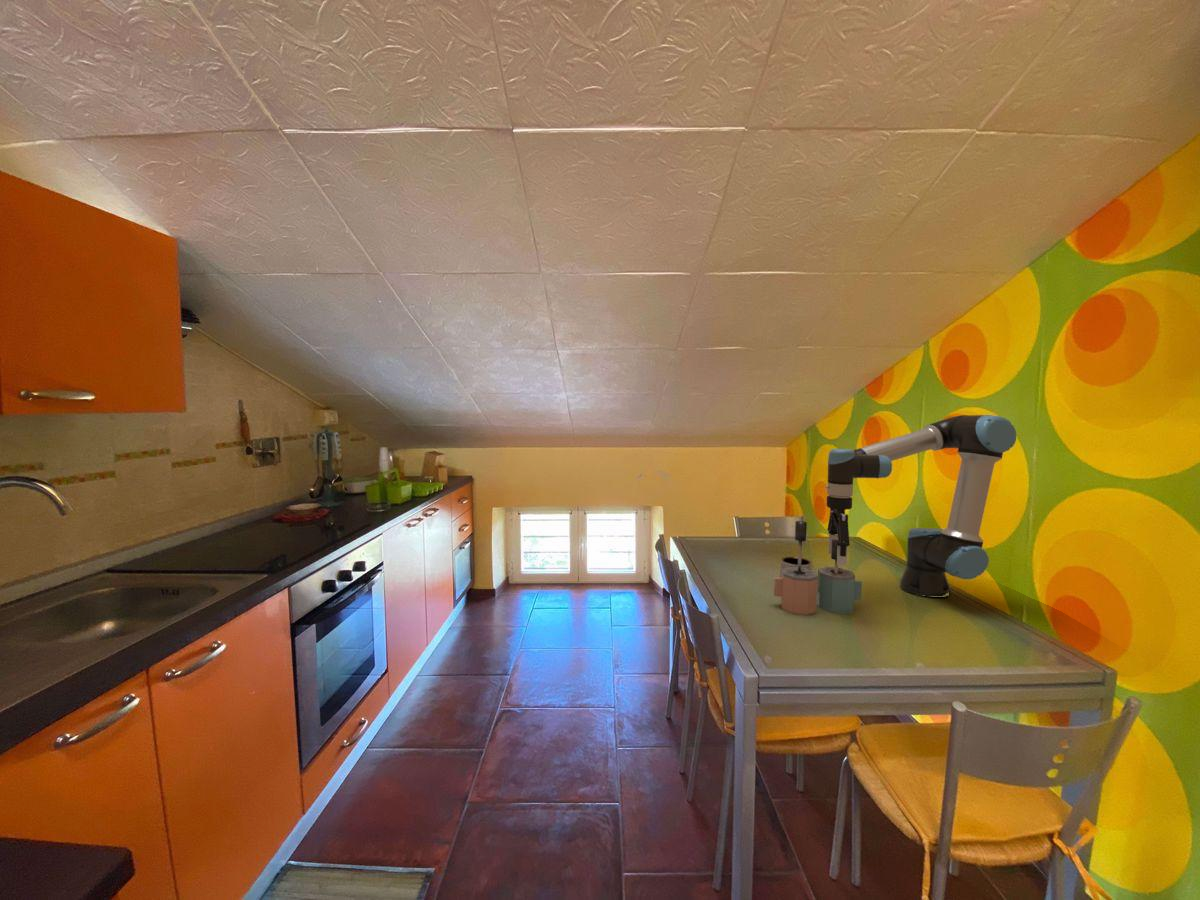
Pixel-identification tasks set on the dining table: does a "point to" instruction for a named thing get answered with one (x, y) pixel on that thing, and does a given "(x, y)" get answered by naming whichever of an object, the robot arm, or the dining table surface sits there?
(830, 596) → the pot teal
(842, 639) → the dining table surface
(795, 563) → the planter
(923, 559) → the robot arm
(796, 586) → the pot terracotta
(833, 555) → the dark brown cylinder-topped rod
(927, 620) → the dining table surface
